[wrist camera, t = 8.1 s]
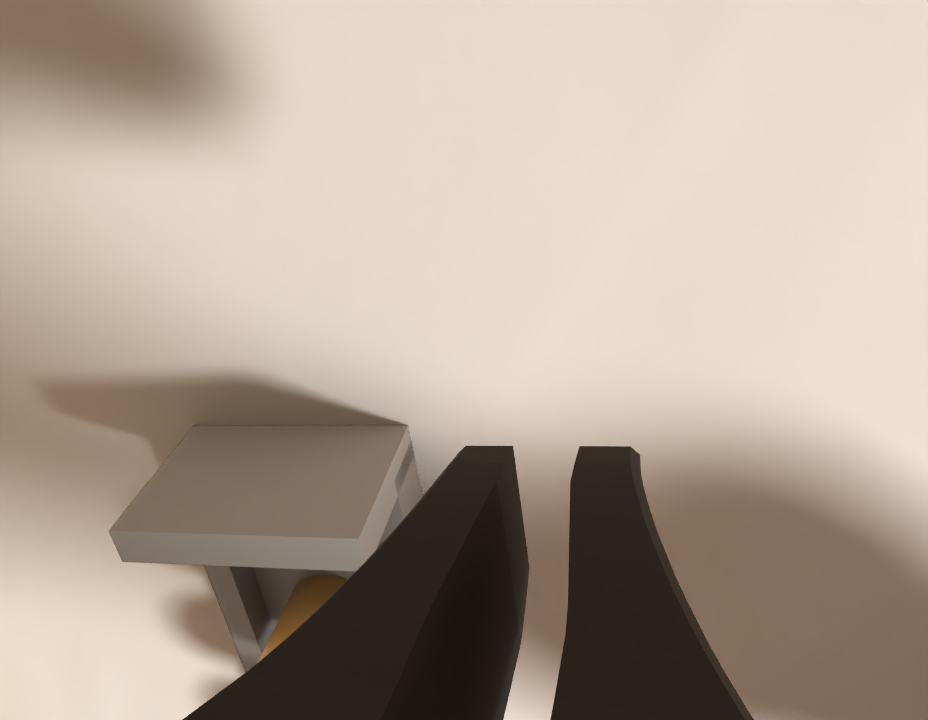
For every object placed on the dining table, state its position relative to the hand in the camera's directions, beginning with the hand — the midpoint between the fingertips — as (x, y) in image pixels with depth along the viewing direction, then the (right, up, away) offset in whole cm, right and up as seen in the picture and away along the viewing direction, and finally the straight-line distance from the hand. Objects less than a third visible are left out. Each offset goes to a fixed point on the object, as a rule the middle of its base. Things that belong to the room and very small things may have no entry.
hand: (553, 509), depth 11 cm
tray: (-4, -8, +17) cm, 19 cm away
